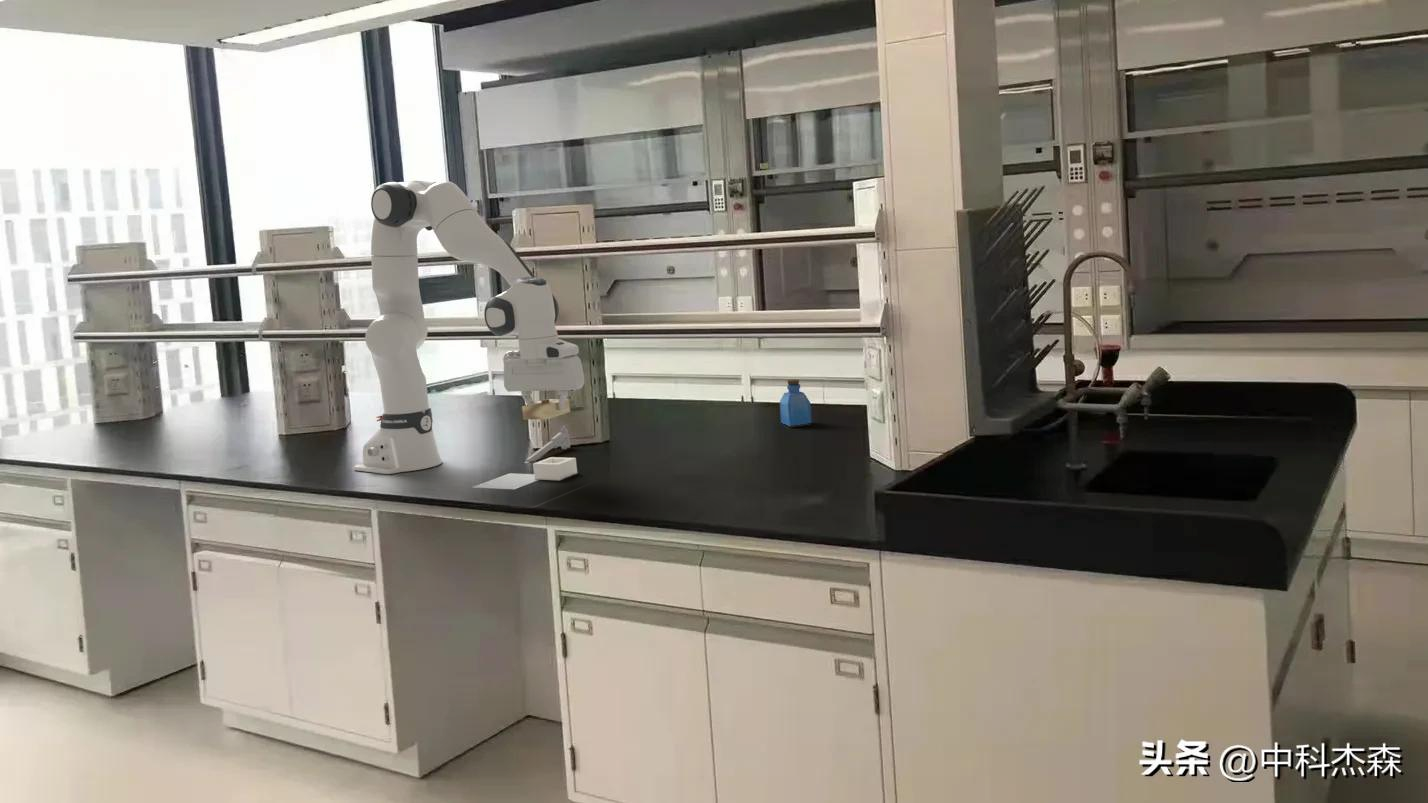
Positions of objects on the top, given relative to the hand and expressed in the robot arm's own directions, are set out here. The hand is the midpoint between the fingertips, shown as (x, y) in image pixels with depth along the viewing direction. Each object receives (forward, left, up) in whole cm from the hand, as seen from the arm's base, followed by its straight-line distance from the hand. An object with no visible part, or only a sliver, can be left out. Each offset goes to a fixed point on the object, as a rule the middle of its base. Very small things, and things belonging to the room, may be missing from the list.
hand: (546, 410), depth 271 cm
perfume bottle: (+31, +67, -16) cm, 75 cm away
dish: (0, +1, -16) cm, 16 cm away
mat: (-8, -5, -16) cm, 18 cm away
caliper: (-18, +22, -16) cm, 33 cm away
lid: (0, 0, -1) cm, 1 cm away
